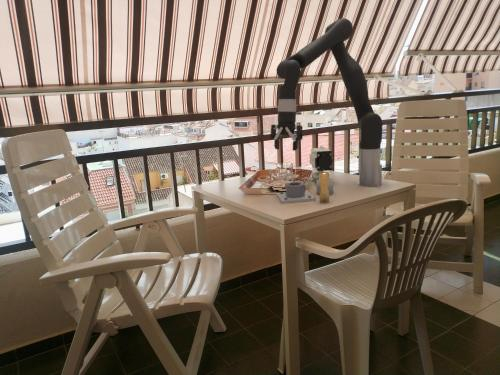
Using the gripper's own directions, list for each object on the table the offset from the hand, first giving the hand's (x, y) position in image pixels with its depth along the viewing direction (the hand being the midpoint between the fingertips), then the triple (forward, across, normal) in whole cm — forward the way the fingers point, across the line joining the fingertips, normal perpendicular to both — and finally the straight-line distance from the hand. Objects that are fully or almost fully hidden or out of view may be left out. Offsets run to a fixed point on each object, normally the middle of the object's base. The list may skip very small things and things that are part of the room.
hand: (285, 149), depth 160 cm
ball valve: (+18, 0, -36) cm, 40 cm away
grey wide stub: (+19, -13, -14) cm, 27 cm away
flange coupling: (+20, -4, -2) cm, 21 cm away
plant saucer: (+20, +8, -16) cm, 27 cm away
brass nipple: (+20, -18, -1) cm, 27 cm away
